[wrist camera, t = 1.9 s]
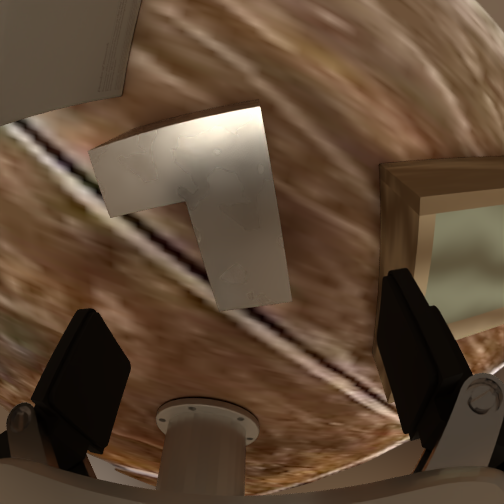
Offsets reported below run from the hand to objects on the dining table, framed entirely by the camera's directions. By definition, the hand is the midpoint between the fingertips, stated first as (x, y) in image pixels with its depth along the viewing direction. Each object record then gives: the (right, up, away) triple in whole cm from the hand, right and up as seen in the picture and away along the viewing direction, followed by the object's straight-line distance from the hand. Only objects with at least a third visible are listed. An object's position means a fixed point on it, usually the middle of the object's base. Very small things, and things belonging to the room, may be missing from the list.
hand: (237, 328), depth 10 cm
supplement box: (-10, +16, +5) cm, 20 cm away
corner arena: (+18, +2, +13) cm, 22 cm away
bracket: (-2, +6, +10) cm, 12 cm away
